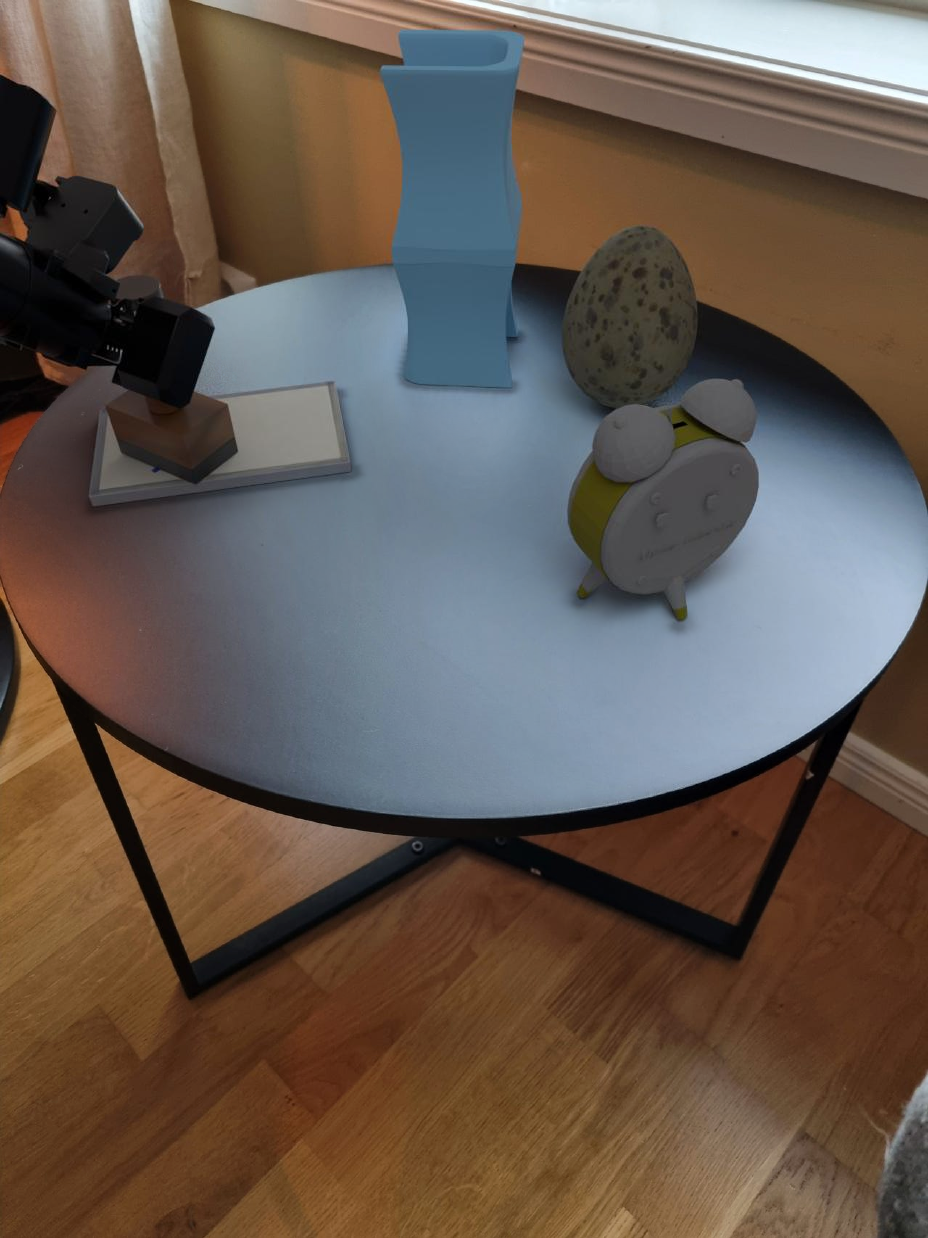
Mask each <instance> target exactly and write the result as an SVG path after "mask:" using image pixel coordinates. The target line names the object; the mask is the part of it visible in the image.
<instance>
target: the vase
mask: <svg viewBox="0 0 928 1238" xmlns="http://www.w3.org/2000/svg"><path fill="white" fill-rule="evenodd" d="M397 36H398V43H399V48H400V52H401V56H402V61H403V65H382V66H381V68H380V69H379V73H380V77H381V80H382V81H381V82H382V85H383V86H384V90H385V92H386V96H387V99H388V102H389V105H390V109H391V112H392V116H393V119H394V122H395V123H394V124H395V127H396V132H397V136H398V141H399V148H400V155H401V162H402V165H401V166H402V167H401V168H402V169H401V173H402V174H401V193H400V202H399V203H400V204H399V209H398V215H397V221H396V227H395V230H394V235H393V240H392V244H391V260H392V265H393V268H394V271H395V275H396V277H397V281H398V283H399V284H398V285H399V288H400V290H401V294H402V298H403V302H404V306H405V312H406V319H407V321H406V322H407V343H406V344H407V346H406V354H405V355H406V357H405V365H404V374H403V375H404V376H403V377H404V379H406V380H407V381H409V382H410V383H413V384H416V385H417V384H418V385H429V386H449V387H450V386H451V387H452V386H453V387H475V388H477V387H479V388H481V387H482V388H502V389H512V388H513V377H512V371H511V366H510V365H511V364H510V358H509V351H508V341H507V338H518V335H519V329H518V325H517V319H516V315H515V310H514V303H513V301H514V300H513V293H512V281H513V280H512V279H513V277H514V272H515V268H516V262H517V253H518V245H519V238H520V237H519V235H520V231H521V230H520V229H521V224H522V223H521V221H522V214H523V198H522V194H521V191H520V187H519V184H518V179H517V174H516V169H515V165H514V158H513V145H512V143H513V142H512V127H513V113H514V105H515V97H516V90H517V84H518V79H519V75H520V70H521V69H520V68H521V63H522V58H523V52H524V48H525V47H524V45H525V37H524V35H523V34H521V33H520V32H515V31H512V30H511V31H510V30H491V29H489V30H488V29H486V30H484V29H483V30H482V29H481V30H479V29H474V30H473V29H400V30H399V32H398V34H397Z"/></svg>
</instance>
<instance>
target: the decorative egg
mask: <svg viewBox="0 0 928 1238" xmlns="http://www.w3.org/2000/svg"><path fill="white" fill-rule="evenodd" d="M588 259H589V260H588V261H587V262H586V263H585V265H584V267H583V268H582V269H581V271H580V273H579V275H578V276H577V279H576V281H575V283H574V284H573V287H572V289H571V291H570V294H569V297H568V300H567V302H566V306H565V310H564V314H563V320H562V328H561V347H562V353H563V358H564V362H565V365H566V368H567V370H568V372H569V374H570V377H571V378H572V379H573V381H574V383H575V384H576V385H577V387H578V388H579V389H580V390H581V391H582V393H583V394H585V395H586V396H587V397H588V398H590V399H591V400H592V401H594V402H596V403H598V404H600V405H603V406H606V407H610V408H613V409H615V410H616V409H618V408H621V407H623V406H626V405H633V404H638V405H645V406H646V405H647V404H650V403H651V402H654V401H655V400H657V399H659V398H661V396H663V395H664V394H666V393H667V392H668V391H670V389H671V388H672V387H673V386H674V385H675V384H676V383H677V382H678V381H679V380H680V377H681V376H682V375H683V373H684V372H685V370H686V368H687V366H688V364H689V362H690V359H691V357H692V354H693V351H694V348H695V344H696V339H697V333H698V303H697V295H696V289H695V286H694V282H693V278H692V275H691V273H690V269H689V267H688V264H687V262H686V261H685V259H684V257H683V254H682V253H681V252H680V250H679V249H678V246H676V245H675V243H674V241H672V239H670V238H669V236H668V235H666V234H665V233H664V232H662V230H659V229H658V228H656V227H654V226H651V225H646V224H637V225H636V224H635V225H631V226H628V227H625V228H623V229H621V230H619V231H618V232H615V233H614V234H613V235H611V237H609V238H608V239H607V240H605V241H604V242H603V243H602V244H601V245H600V246H599V247H598V248H597V249H596V250H595V252H594V253H593V254H592V255H591V257H590V258H588Z"/></svg>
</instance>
